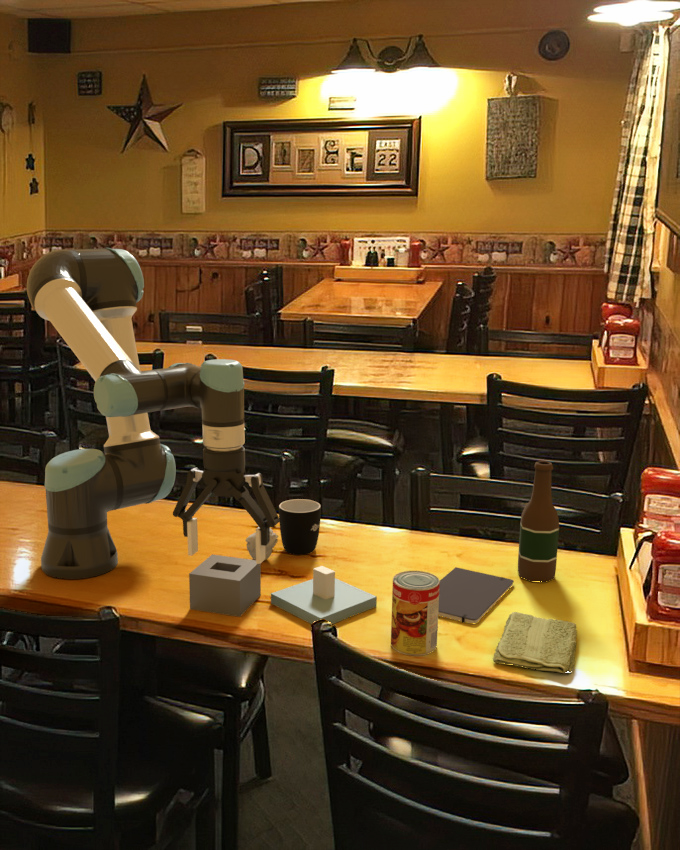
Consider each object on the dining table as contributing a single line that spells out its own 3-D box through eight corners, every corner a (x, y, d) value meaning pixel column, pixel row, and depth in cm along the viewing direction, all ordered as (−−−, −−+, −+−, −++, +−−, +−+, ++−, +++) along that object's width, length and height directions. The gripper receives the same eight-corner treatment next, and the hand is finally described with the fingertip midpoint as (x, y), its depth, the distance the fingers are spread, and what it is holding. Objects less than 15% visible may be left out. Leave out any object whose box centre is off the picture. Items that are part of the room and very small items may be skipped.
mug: (314, 559, 196) (314, 514, 193) (273, 555, 198) (273, 510, 195) (328, 540, 207) (328, 496, 205) (289, 536, 209) (289, 493, 207)
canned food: (396, 631, 164) (398, 568, 161) (440, 638, 162) (443, 573, 159) (385, 651, 156) (387, 585, 154) (431, 658, 154) (434, 591, 151)
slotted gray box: (189, 609, 171) (189, 573, 170) (212, 588, 181) (212, 554, 179) (240, 616, 168) (239, 580, 167) (260, 595, 178) (260, 560, 176)
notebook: (455, 574, 191) (411, 612, 173) (455, 566, 190) (411, 604, 172) (514, 587, 185) (475, 628, 167) (515, 579, 184) (475, 620, 166)
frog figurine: (274, 567, 191) (274, 535, 190) (241, 564, 193) (241, 532, 191) (281, 556, 197) (281, 525, 196) (249, 553, 198) (249, 522, 197)
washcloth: (490, 668, 152) (491, 650, 152) (507, 623, 169) (508, 607, 168) (572, 682, 148) (573, 663, 148) (581, 634, 165) (582, 618, 164)
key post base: (270, 603, 174) (270, 568, 173) (326, 583, 184) (326, 550, 182) (320, 628, 164) (321, 591, 163) (376, 606, 174) (377, 571, 172)
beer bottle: (559, 572, 191) (567, 460, 185) (550, 586, 184) (559, 470, 178) (521, 566, 194) (529, 455, 188) (512, 579, 187) (519, 464, 182)
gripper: (151, 445, 167) (156, 556, 172) (281, 456, 160) (282, 572, 165) (170, 436, 174) (175, 543, 179) (296, 446, 167) (296, 557, 172)
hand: (226, 557), depth 172 cm, fingers open, 13 cm apart
